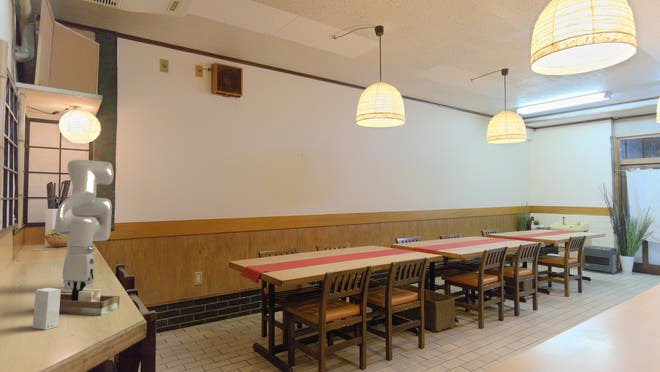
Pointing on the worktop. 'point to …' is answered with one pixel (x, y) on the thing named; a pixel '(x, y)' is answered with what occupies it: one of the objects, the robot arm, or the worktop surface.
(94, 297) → the birch block
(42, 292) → the skincare box
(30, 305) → the worktop surface
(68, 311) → the channel
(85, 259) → the robot arm
